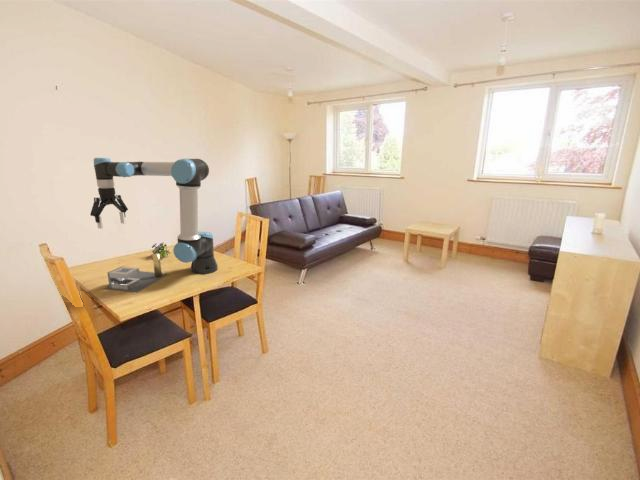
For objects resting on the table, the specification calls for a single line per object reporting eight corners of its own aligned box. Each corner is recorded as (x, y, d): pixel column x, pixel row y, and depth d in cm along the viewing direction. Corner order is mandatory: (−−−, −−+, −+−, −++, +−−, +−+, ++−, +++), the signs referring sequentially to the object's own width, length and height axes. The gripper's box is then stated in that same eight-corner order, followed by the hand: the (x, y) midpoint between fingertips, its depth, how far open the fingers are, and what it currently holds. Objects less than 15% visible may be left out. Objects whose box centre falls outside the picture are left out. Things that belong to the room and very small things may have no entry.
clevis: (140, 283, 162) (138, 268, 160) (127, 290, 154) (125, 274, 151) (123, 281, 164) (121, 266, 161) (109, 288, 155) (107, 272, 153)
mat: (169, 274, 176) (169, 274, 175) (137, 293, 152) (137, 292, 152) (139, 271, 178) (139, 271, 178) (103, 289, 155) (103, 288, 155)
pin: (163, 275, 173) (160, 253, 170) (159, 277, 170) (156, 255, 166) (157, 275, 174) (155, 253, 170) (153, 277, 170) (150, 254, 167)
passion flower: (156, 264, 207) (153, 247, 210) (173, 260, 209) (170, 243, 213) (150, 259, 196) (148, 242, 199) (169, 255, 199) (166, 238, 202)
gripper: (121, 185, 179) (126, 220, 185) (77, 189, 156) (84, 229, 162) (131, 185, 177) (136, 222, 182) (88, 189, 154) (95, 231, 160)
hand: (112, 225), depth 172 cm, fingers open, 13 cm apart
